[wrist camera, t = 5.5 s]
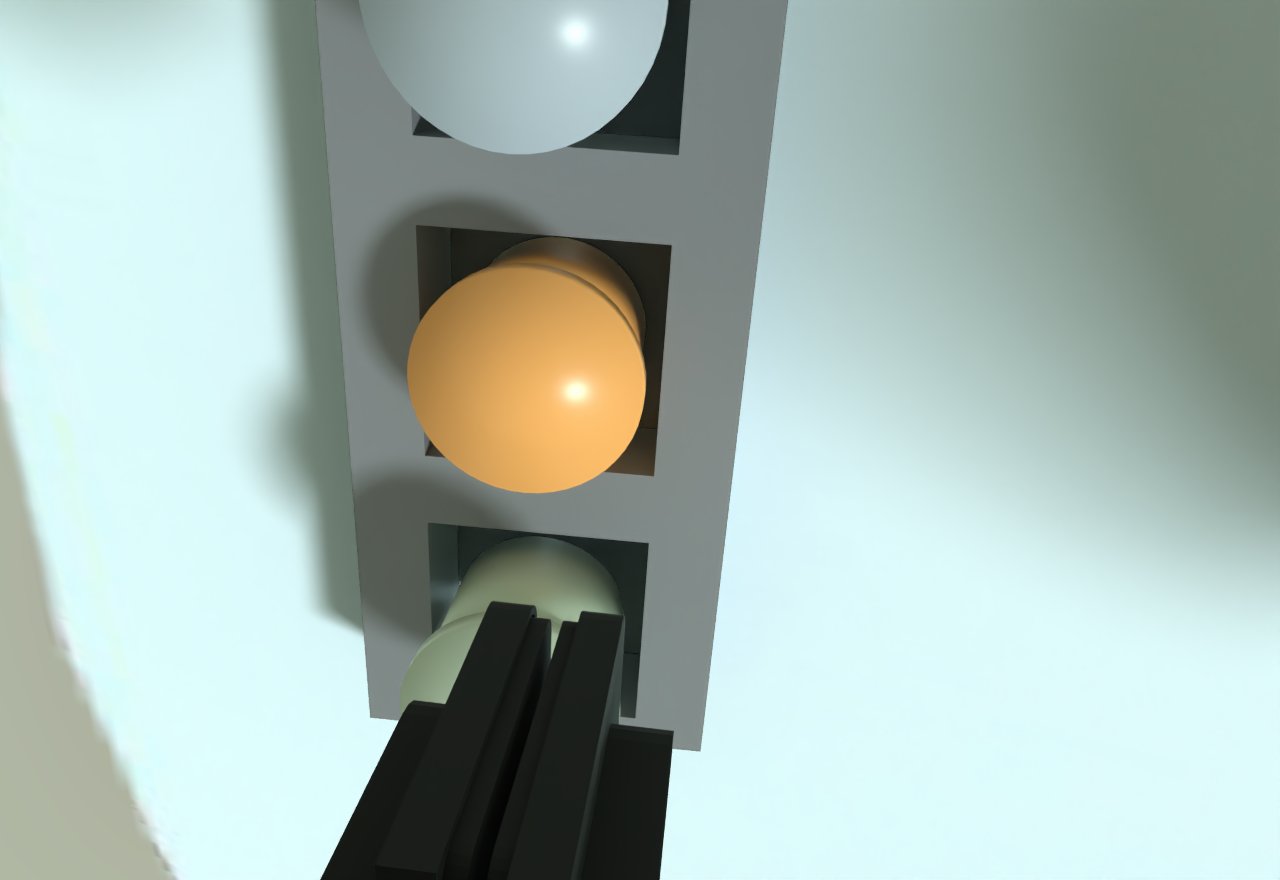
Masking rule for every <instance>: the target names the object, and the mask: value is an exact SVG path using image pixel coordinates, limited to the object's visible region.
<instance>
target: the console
mask: <svg viewBox="0 0 1280 880" xmlns="http://www.w3.org/2000/svg"><path fill="white" fill-rule="evenodd" d="M787 5H788V0H691V3H690V16H689V29H688V42H687V55H686V68H685V81H684V94H683V107H682V120H681V133H680V139H672V138H658V137H645V136H631V135H618V134H604V133H593V134H591V135H589V136H588V137H586V138H584V139H583V140H580V141H578V142H576V143H573V144H571V145H569V146H567V147H563V148H560V149H556V150H552V151H549V152H543V153H535V154H505V153H498V152H491V151H488V150H484V149H481V148H477V147H474V146H471V145H469V144H466V143H464V142H462V141H459V140H457V139H455V138H453V137H451V136H450V135H448V134H446V133H445V132H443V131H441V130H439V129H438V128H436V127H435V126H434V125H432V124H431V123H430V122H429V121H427V120H426V119H425V118H423V117H422V116H421V115H420V114H419V113H418V112H417V111H416V110H415V109H414V108H413V107H412V106H411V105H410V104H409V103H408V102H407V101H406V100H405V99H404V98H403V97H402V95H401V94H400V93H399V92H398V90H397V89H396V88H395V87H394V85H393V84H392V82H391V81H390V79H389V78H388V76H387V75H386V73H385V71H384V70H383V68H382V67H381V65H380V63H379V61H378V59H377V57H376V54H375V52H374V50H373V48H372V46H371V43H370V40H369V38H368V35H367V32H366V29H365V26H364V22H363V18H362V14H361V9H360V5H359V0H315V7H316V20H317V33H318V46H319V58H320V71H321V84H322V97H323V110H324V123H325V136H326V149H327V162H328V175H329V188H330V201H331V214H332V227H333V240H334V253H335V266H336V279H337V292H338V305H339V318H340V331H341V344H342V357H343V370H344V383H345V396H346V409H347V422H348V435H349V448H350V461H351V474H352V487H353V500H354V513H355V526H356V539H357V552H358V565H359V578H360V591H361V604H362V616H363V629H364V642H365V655H366V668H367V681H368V694H369V707H370V718H380V719H390V720H400V718H401V711H400V692H401V687H402V683H403V680H404V678H405V675H406V672H407V670H408V668H409V666H410V664H411V662H412V660H413V658H414V656H415V654H416V653H417V651H418V649H419V648H420V646H421V645H422V644H423V643H424V642H425V640H426V639H427V638H428V637H429V636H431V635H432V634H433V633H434V632H435V631H436V630H438V629H439V628H441V626H442V623H443V621H444V619H445V617H446V615H447V612H448V610H449V608H450V606H451V604H452V601H453V599H454V597H455V595H456V593H457V590H458V588H459V575H458V533H457V525H460V526H471V527H481V528H492V529H503V530H513V531H524V532H535V533H546V534H556V535H567V536H578V537H588V538H599V539H610V540H621V541H631V542H642V543H649V549H648V562H647V575H646V588H645V601H644V614H643V627H642V641H641V654H630V653H623V667H622V682H621V698H620V718H619V724H620V725H629V726H637V727H646V728H654V729H663V730H671V731H674V736H673V746H672V749H681V750H691V751H700V750H701V742H702V733H703V724H704V716H705V707H706V699H707V690H708V682H709V673H710V664H711V656H712V647H713V639H714V630H715V622H716V613H717V604H718V596H719V587H720V579H721V570H722V562H723V553H724V544H725V536H726V527H727V519H728V510H729V502H730V493H731V484H732V476H733V467H734V459H735V450H736V442H737V433H738V425H739V416H740V407H741V399H742V390H743V382H744V373H745V365H746V356H747V347H748V339H749V330H750V322H751V313H752V305H753V296H754V287H755V279H756V270H757V262H758V253H759V245H760V236H761V227H762V219H763V210H764V202H765V193H766V185H767V176H768V167H769V159H770V150H771V142H772V133H773V125H774V116H775V107H776V99H777V90H778V82H779V73H780V65H781V56H782V48H783V39H784V30H785V22H786V13H787ZM450 228H462V229H474V230H487V231H500V232H512V233H525V234H537V235H550V236H563V237H575V238H588V239H601V240H613V241H626V242H638V243H651V244H664V245H672V250H671V263H670V276H669V289H668V302H667V315H666V328H665V341H664V354H663V367H662V380H661V393H660V406H659V419H658V429H649V428H637V429H636V432H635V434H634V436H633V438H632V440H631V442H630V443H629V445H628V446H627V448H626V449H625V451H624V452H623V453H622V454H621V455H620V457H619V458H618V459H617V460H616V461H615V462H614V463H613V464H612V465H611V466H610V467H608V468H607V469H606V470H605V471H604V472H602V473H601V474H599V475H598V476H596V477H595V478H593V479H591V480H589V481H587V482H585V483H583V484H581V485H578V486H575V487H572V488H569V489H566V490H561V491H556V492H548V493H522V492H515V491H509V490H505V489H501V488H498V487H494V486H492V485H489V484H487V483H484V482H481V481H479V480H478V479H476V478H474V477H472V476H470V475H468V474H467V473H465V472H464V471H462V470H461V469H459V468H458V467H456V466H455V465H454V464H453V463H452V462H450V461H449V460H448V459H447V458H446V457H445V456H444V455H443V454H442V453H441V452H440V451H439V450H438V449H437V448H436V447H435V446H434V444H433V443H432V442H431V440H430V439H429V437H428V436H427V435H426V433H425V432H424V430H423V428H422V426H421V424H420V422H419V421H418V419H417V416H416V414H415V411H414V408H413V406H412V402H411V398H410V394H409V388H408V380H407V364H408V357H409V351H410V346H411V343H412V340H413V337H414V334H415V332H416V330H417V328H418V326H419V324H420V322H421V320H422V319H423V317H424V316H425V314H426V313H427V311H428V310H429V309H430V307H431V306H432V305H433V304H434V303H435V302H436V301H437V300H438V299H439V298H440V297H441V296H442V295H443V294H444V293H445V292H446V291H447V290H448V289H449V288H451V287H452V282H451V240H450Z"/></svg>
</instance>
